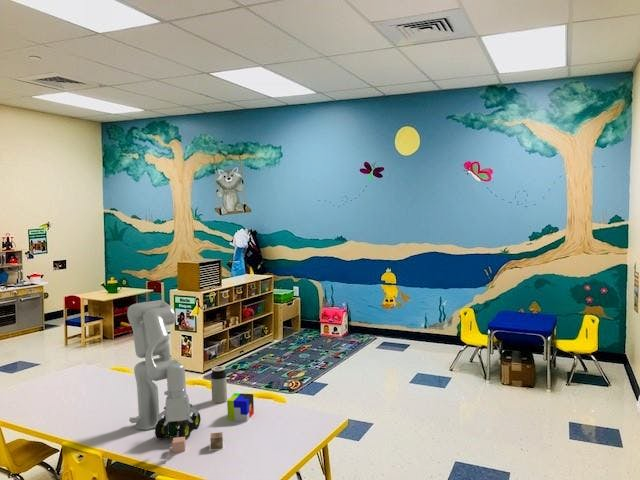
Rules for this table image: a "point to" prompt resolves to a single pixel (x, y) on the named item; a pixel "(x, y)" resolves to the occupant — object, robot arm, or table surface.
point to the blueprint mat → (216, 449)
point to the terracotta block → (179, 444)
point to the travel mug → (219, 384)
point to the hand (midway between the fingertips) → (179, 432)
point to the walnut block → (216, 440)
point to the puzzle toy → (240, 407)
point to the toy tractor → (176, 427)
